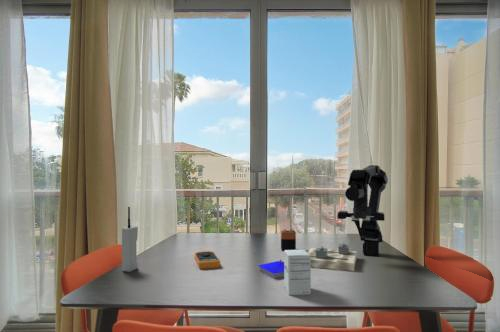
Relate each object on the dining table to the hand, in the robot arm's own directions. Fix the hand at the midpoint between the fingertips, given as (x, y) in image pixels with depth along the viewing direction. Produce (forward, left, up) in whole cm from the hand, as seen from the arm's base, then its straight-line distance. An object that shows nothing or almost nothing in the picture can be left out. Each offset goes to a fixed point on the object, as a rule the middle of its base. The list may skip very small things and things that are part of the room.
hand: (360, 235), depth 146 cm
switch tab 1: (+15, +10, -8) cm, 20 cm away
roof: (+29, +26, -11) cm, 41 cm away
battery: (+34, -10, -11) cm, 37 cm away
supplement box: (+18, +43, -11) cm, 48 cm away
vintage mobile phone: (+85, +42, -11) cm, 95 cm away
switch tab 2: (+7, 0, -8) cm, 10 cm away
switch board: (+12, +5, -11) cm, 17 cm away
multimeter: (+61, +23, -11) cm, 66 cm away
